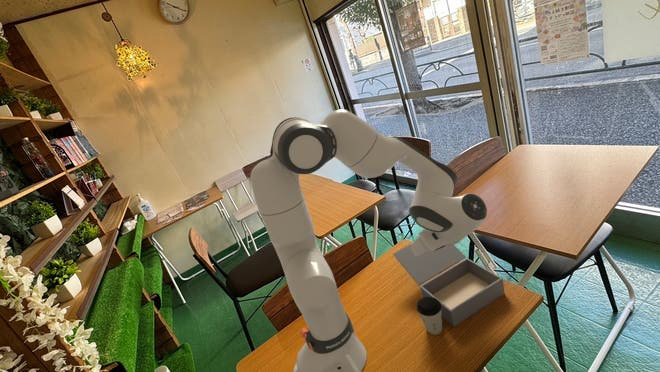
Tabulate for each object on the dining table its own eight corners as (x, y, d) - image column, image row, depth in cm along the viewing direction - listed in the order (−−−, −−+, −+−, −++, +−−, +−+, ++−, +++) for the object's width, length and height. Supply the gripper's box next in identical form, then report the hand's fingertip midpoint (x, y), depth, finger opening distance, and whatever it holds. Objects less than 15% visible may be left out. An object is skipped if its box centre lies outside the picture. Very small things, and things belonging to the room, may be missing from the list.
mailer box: (454, 327, 90) (450, 311, 88) (423, 300, 102) (419, 286, 100) (504, 293, 95) (502, 278, 93) (469, 271, 107) (466, 257, 105)
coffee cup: (448, 321, 92) (442, 295, 89) (444, 340, 87) (437, 314, 83) (425, 316, 96) (419, 292, 93) (419, 335, 91) (412, 309, 87)
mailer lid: (393, 253, 110) (393, 254, 110) (418, 284, 101) (418, 285, 101) (437, 229, 115) (437, 230, 116) (465, 256, 106) (465, 257, 106)
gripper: (469, 205, 93) (451, 221, 105) (415, 234, 88) (402, 248, 100) (483, 222, 91) (463, 237, 103) (428, 253, 85) (413, 265, 97)
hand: (432, 243), depth 101 cm, fingers closed
